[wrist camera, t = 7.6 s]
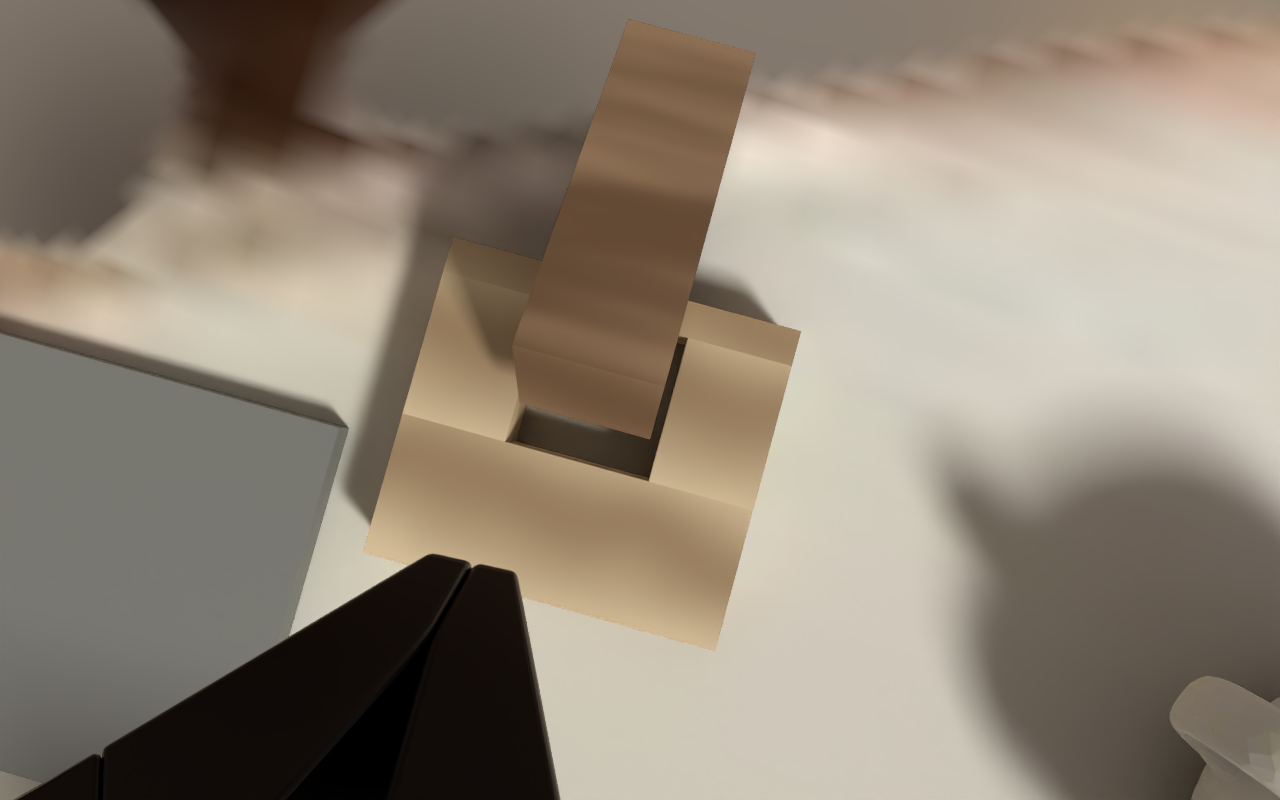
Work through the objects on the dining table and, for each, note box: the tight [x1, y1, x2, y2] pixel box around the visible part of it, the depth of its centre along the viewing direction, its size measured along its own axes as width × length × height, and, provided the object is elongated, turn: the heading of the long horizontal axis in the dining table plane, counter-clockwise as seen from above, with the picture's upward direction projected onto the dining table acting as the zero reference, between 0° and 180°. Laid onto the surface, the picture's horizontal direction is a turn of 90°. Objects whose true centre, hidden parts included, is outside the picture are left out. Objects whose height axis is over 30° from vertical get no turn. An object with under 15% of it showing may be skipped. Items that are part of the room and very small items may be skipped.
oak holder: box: [363, 237, 801, 651], centre depth 25 cm, size 9×10×2 cm
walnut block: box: [512, 19, 756, 439], centre depth 23 cm, size 4×4×10 cm
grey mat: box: [0, 331, 349, 783], centre depth 25 cm, size 12×12×1 cm
